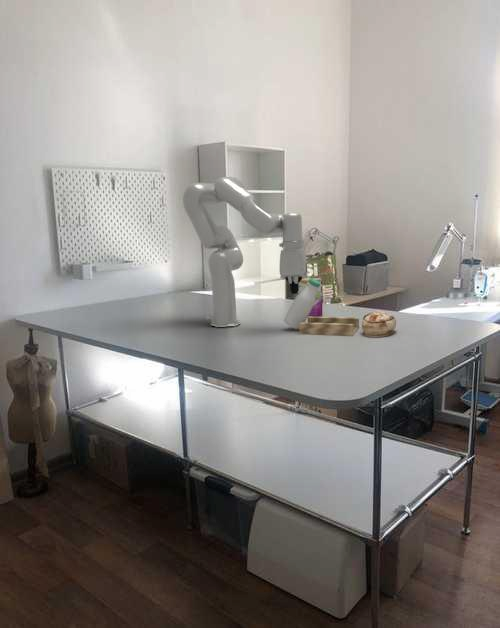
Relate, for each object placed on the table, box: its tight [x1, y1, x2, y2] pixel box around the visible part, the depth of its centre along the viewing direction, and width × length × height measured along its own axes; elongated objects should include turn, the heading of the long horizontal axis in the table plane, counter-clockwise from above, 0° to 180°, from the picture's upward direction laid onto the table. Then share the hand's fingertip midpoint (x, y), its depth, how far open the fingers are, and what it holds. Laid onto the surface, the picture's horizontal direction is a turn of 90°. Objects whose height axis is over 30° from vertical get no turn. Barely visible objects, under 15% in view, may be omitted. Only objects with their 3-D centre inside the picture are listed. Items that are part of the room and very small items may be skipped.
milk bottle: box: [283, 277, 320, 331], centre depth 208 cm, size 8×8×20 cm
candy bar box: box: [296, 277, 323, 317], centre depth 236 cm, size 11×5×16 cm, turn 84°
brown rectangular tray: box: [299, 316, 360, 337], centre depth 205 cm, size 20×14×4 cm
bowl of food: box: [361, 310, 397, 338], centre depth 198 cm, size 13×15×8 cm
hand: (294, 293), depth 208 cm, fingers closed
